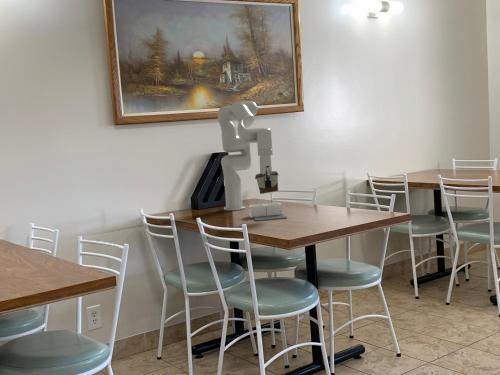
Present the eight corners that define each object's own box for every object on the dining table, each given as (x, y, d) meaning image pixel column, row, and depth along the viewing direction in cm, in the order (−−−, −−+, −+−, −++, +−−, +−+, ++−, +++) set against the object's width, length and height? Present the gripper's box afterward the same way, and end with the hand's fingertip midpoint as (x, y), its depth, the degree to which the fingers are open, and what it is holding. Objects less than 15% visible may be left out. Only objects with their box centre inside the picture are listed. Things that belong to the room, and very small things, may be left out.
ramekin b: (265, 214, 341) (264, 203, 340) (279, 213, 342) (279, 202, 341) (267, 217, 333) (266, 205, 332) (282, 215, 334) (281, 204, 333)
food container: (279, 188, 332) (276, 170, 330) (281, 190, 326) (278, 171, 324) (256, 192, 331) (253, 174, 330) (257, 194, 325) (254, 175, 323)
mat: (252, 217, 334) (252, 216, 334) (282, 215, 336) (282, 213, 336) (255, 221, 322) (255, 220, 322) (286, 218, 324) (286, 217, 324)
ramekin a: (249, 216, 340) (248, 205, 339) (264, 214, 341) (263, 203, 340) (251, 218, 332) (250, 207, 332) (266, 217, 333) (265, 205, 332)
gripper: (255, 152, 333) (258, 186, 335) (260, 153, 317) (262, 190, 319) (269, 151, 334) (272, 185, 336) (275, 152, 317) (277, 188, 319)
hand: (267, 187), depth 327 cm, fingers closed on food container, 5 cm apart
